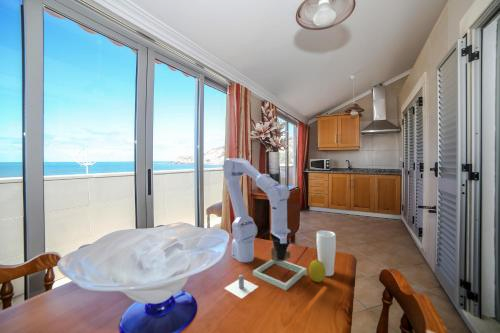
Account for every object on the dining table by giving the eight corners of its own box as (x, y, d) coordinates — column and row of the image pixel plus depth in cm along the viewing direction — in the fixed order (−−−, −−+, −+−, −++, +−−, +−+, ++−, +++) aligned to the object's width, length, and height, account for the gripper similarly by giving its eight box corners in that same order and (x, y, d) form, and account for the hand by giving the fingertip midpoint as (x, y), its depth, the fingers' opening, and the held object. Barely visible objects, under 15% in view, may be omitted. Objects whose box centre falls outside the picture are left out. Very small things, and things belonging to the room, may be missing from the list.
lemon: (326, 288, 69) (326, 264, 69) (309, 286, 70) (309, 262, 70) (324, 279, 74) (324, 256, 74) (308, 277, 75) (308, 255, 75)
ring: (272, 261, 73) (272, 253, 73) (270, 255, 79) (270, 247, 79) (291, 261, 74) (291, 252, 74) (288, 254, 79) (288, 246, 79)
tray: (252, 277, 76) (252, 271, 76) (274, 263, 86) (274, 257, 86) (286, 293, 67) (286, 285, 66) (306, 275, 77) (306, 268, 77)
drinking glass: (316, 276, 76) (315, 235, 76) (317, 267, 83) (316, 229, 82) (336, 279, 74) (336, 237, 73) (335, 270, 80) (335, 231, 80)
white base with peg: (224, 291, 68) (223, 276, 68) (241, 280, 74) (240, 267, 74) (241, 301, 63) (241, 286, 63) (258, 289, 69) (258, 275, 69)
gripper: (295, 224, 69) (295, 264, 69) (285, 213, 83) (285, 247, 84) (274, 224, 69) (274, 265, 69) (267, 213, 83) (268, 247, 83)
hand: (279, 255), depth 76 cm, fingers closed on ring, 5 cm apart
